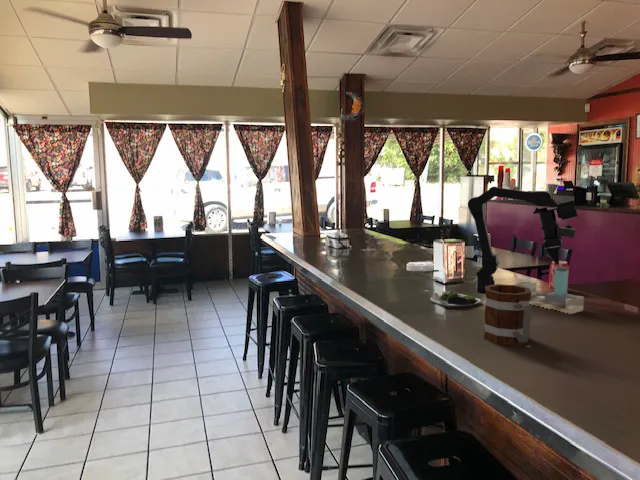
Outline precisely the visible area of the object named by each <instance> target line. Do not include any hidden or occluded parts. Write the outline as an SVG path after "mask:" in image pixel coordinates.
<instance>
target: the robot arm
mask: <svg viewBox="0 0 640 480" xmlns="http://www.w3.org/2000/svg"><path fill="white" fill-rule="evenodd" d="M495 197H497V198H503V199H504V198H505V199H511V200H518V201H525V202H528V203H531V204H533V205H536V207H535V209H534V211H533V212H532V213H533V215H537V214H538V217H539V221H540V224H541V225H540V226H541V230H542V235H543V240H544V241H543V243H542V246H543V249H544V250H545V251H546V252H547V254H548V255H549V256H550V257H551V259H552V261H554V262H555V264H559V261H560V249H561V248H562V247H563V237H567V238H570V239H574V238H575V237H576V232H577V231H576V228H573V227H572V225H570V224H566V225H565V226H560V224H559V223H558V220H557V218H558V219H560V220H561V221H566V220H570V219H574V218H578V216H579V215H578V211H577V208H576V206H575V201H574V199H571V200H568V201H563V202H558V200H554V199H553V198H552V194H551V193H550V192H549V191H548V190H533V191H532V190H531V191H529V190H528V191H525V190H521V189H520V190H519V189H512V188H503V187H498V186H491V187H490V188H489V189H488V190H486V191H485V192H483V193H481V194H480V195H479V196H475V197H472V198H470V199H469V200H468V202H467V208H468V209H469V212H470V214H471V216H472V218H473V219H474V223H475V227H476V232H477V238H478V243H479V246H480V250H481V267H480V268H479V269H478V270H477V271H476V283H475V284H476V287H475V290H476V293H485V294H486V291H485V286H489V285H496V284H495V283H496V282H495V280H494V276H493V275H494V274H495V273H496V271H497V270H498V269H499V265H500V264H501V263H500V261H499V255H498V253H494V251H493V249H492V245H491V240H490V236H489V232H488V227H487V223H486V219H485V216H486V214H485V212H486V205H485V204H487V203H488V202H489V201H491V200H492V199H493V198H495ZM538 206H540V207H538ZM548 207H550V208H548ZM556 214H557V215H556Z"/></svg>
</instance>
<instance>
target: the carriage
mask: <svg viewBox="0 0 640 480" xmlns="http://www.w3.org/2000/svg"><path fill="white" fill-rule="evenodd" d="M567 284H568V285H569V276H568V268H567V267H556V270H555V289H554V291H551V292H546V293H545V294H544V297H545V299H546V300H551V301H555V302H560V303H565V304H566V299H568V298H571V296H577V295H575V294H571V293H568V288H567Z"/></svg>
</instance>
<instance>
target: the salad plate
mask: <svg viewBox="0 0 640 480" xmlns="http://www.w3.org/2000/svg"><path fill="white" fill-rule="evenodd" d="M430 301H431V302H432V303H434V304H437V305H439V306H442V307H444V308H446V309H447V308H448V309H456V310H462V309H463V310H464V309H469V308H476V307H479V306H480V305H481V304H482V300H481V299H480V298H477V297H475V296H473V295H469V294H467V295H466V294H463V293H457V292H456V291H454V290H453V291H452V290H449V291H446V292H445V290H443V291H442V293H440V294H438V293H437V292H434V293H432V296H431V297H430Z"/></svg>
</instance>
